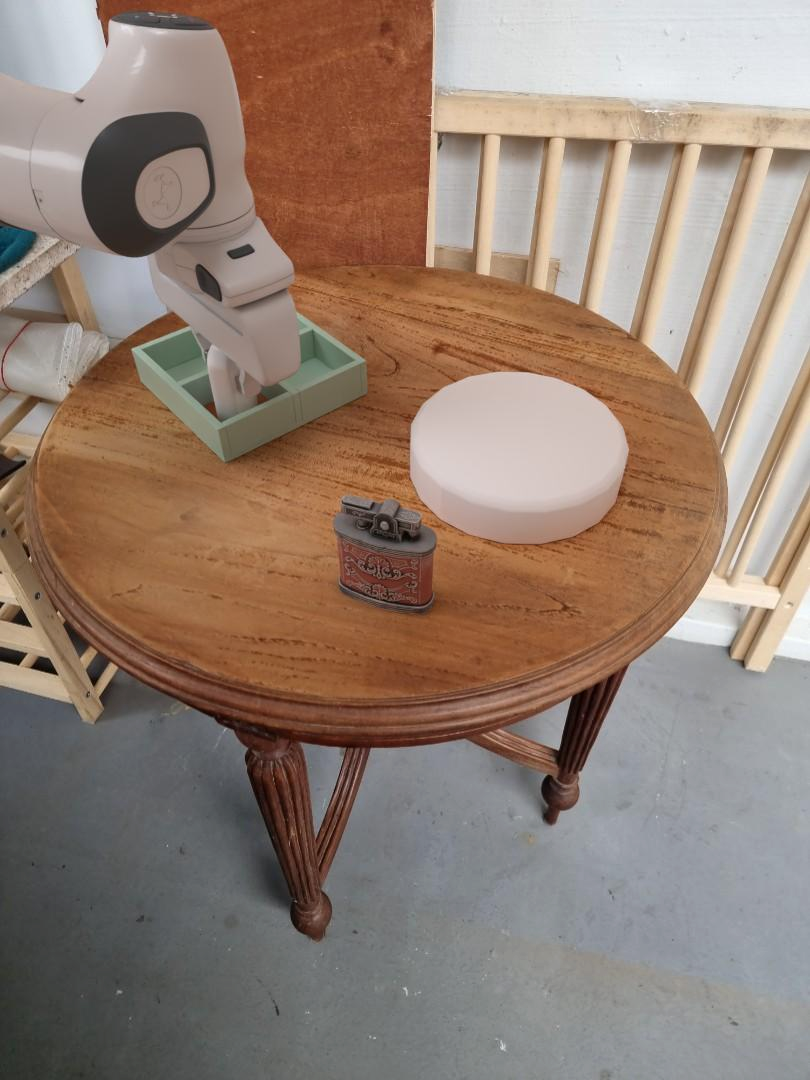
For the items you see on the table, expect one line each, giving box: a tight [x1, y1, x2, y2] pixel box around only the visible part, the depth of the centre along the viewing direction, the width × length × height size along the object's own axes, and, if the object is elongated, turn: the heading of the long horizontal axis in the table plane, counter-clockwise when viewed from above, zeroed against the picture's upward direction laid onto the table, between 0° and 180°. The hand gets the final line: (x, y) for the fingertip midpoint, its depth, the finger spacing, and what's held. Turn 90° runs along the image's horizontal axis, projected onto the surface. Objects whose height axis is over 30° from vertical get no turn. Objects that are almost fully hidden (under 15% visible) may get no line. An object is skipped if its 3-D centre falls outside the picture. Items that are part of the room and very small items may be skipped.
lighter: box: [332, 494, 438, 615], centre depth 60 cm, size 8×3×10 cm, turn 71°
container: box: [409, 371, 630, 545], centre depth 72 cm, size 20×20×5 cm
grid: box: [131, 310, 368, 464], centre depth 81 cm, size 17×17×4 cm
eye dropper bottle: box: [207, 344, 258, 423], centre depth 74 cm, size 4×6×12 cm
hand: (232, 377), depth 75 cm, fingers closed on eye dropper bottle, 5 cm apart
